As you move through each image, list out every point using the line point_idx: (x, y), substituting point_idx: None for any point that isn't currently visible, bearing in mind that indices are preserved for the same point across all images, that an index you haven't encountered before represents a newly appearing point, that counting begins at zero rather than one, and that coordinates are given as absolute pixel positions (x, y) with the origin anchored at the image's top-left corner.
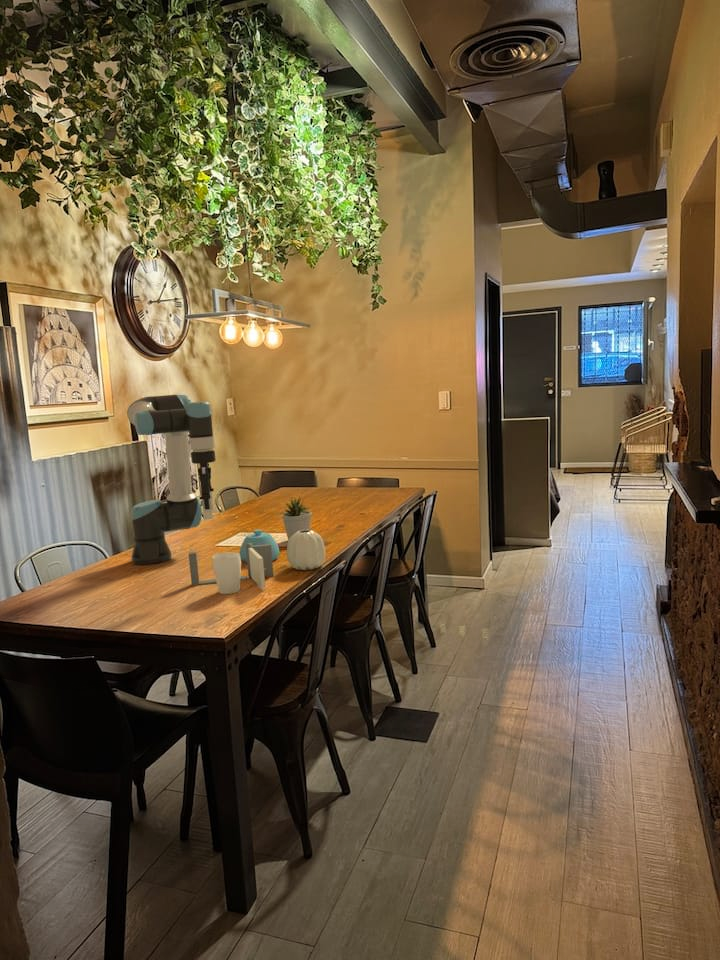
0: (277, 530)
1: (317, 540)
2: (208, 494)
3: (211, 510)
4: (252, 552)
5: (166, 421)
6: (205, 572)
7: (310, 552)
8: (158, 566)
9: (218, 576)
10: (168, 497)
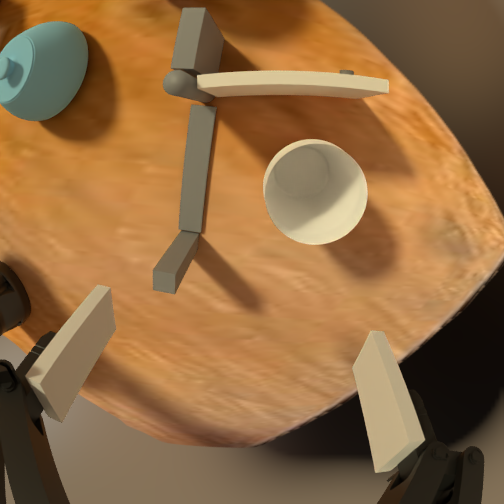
0: None
1: None
2: (478, 467)
3: (399, 371)
4: (274, 84)
5: None
6: (99, 206)
7: None
8: (38, 288)
9: (329, 213)
10: None
